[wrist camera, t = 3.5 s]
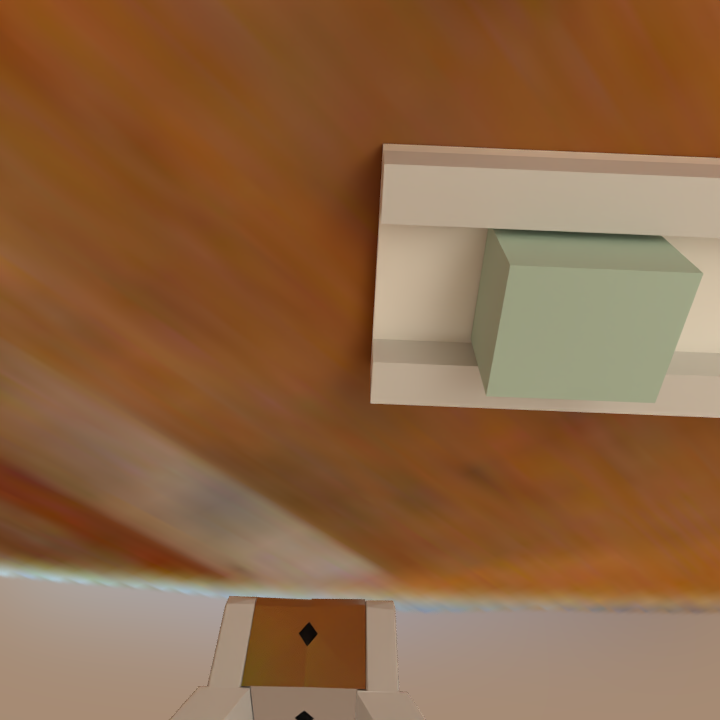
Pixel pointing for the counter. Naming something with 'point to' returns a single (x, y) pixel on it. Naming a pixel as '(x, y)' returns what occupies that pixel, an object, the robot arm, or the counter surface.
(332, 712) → the robot arm
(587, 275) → the block
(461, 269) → the chute
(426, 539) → the counter surface
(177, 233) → the counter surface
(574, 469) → the counter surface
